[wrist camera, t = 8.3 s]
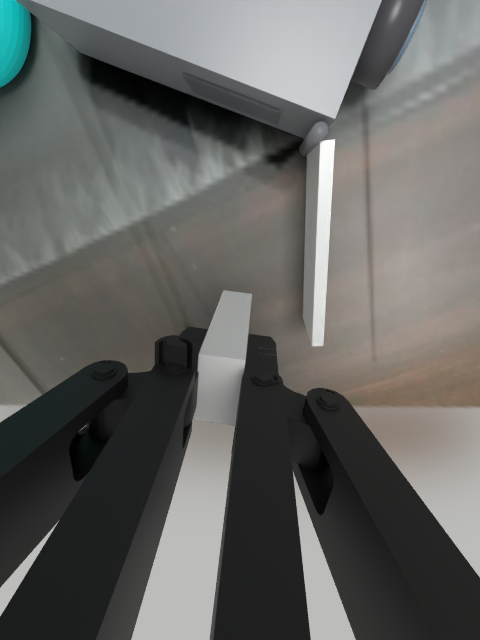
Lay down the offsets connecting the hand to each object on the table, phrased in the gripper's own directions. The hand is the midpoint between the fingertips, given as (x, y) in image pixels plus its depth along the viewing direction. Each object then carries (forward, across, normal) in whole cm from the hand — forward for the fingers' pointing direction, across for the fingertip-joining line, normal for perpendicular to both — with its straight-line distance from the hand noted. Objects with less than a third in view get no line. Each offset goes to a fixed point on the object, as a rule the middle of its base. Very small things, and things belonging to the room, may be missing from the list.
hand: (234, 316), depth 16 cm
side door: (+11, +5, +3) cm, 12 cm away
